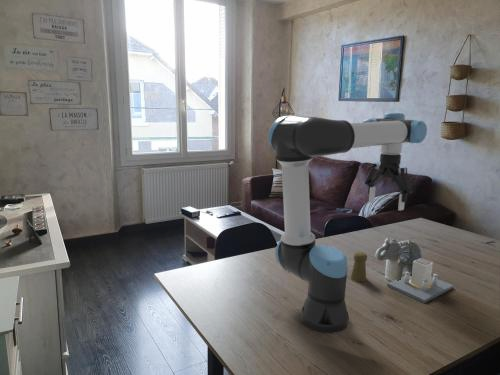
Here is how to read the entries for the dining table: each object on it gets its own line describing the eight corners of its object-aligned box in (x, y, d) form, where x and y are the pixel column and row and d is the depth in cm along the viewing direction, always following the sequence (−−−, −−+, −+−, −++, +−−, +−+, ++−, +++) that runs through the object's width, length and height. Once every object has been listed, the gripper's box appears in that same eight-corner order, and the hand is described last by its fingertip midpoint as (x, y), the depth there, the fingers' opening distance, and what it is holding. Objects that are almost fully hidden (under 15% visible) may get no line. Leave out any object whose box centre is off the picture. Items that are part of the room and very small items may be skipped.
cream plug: (422, 288, 139) (425, 265, 137) (410, 282, 143) (413, 260, 141) (430, 284, 142) (433, 261, 140) (417, 279, 146) (420, 257, 144)
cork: (349, 279, 148) (351, 254, 146) (352, 273, 153) (354, 248, 151) (364, 283, 145) (367, 257, 143) (367, 277, 151) (369, 251, 148)
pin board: (424, 303, 131) (425, 288, 130) (387, 286, 143) (388, 272, 142) (452, 288, 143) (454, 274, 141) (416, 273, 155) (418, 260, 153)
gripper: (426, 156, 137) (420, 211, 141) (370, 149, 156) (366, 198, 161) (415, 157, 132) (408, 215, 137) (358, 150, 152) (354, 200, 157)
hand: (385, 205), depth 149 cm, fingers open, 13 cm apart
